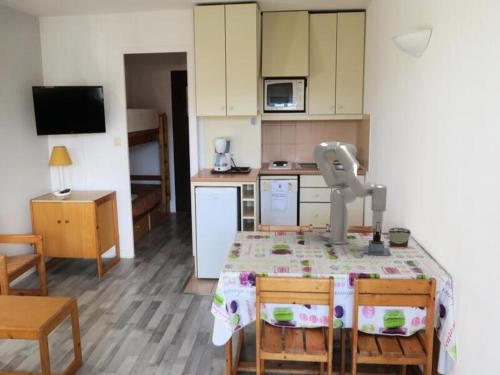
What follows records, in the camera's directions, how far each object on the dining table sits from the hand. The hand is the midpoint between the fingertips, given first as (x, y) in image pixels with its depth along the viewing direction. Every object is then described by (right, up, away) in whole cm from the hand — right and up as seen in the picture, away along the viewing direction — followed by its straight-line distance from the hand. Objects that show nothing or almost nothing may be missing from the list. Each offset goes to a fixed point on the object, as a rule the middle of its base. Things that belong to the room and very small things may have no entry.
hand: (376, 240), depth 237 cm
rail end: (0, -3, +1) cm, 3 cm away
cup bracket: (0, -6, +1) cm, 7 cm away
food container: (+15, -5, +12) cm, 20 cm away
